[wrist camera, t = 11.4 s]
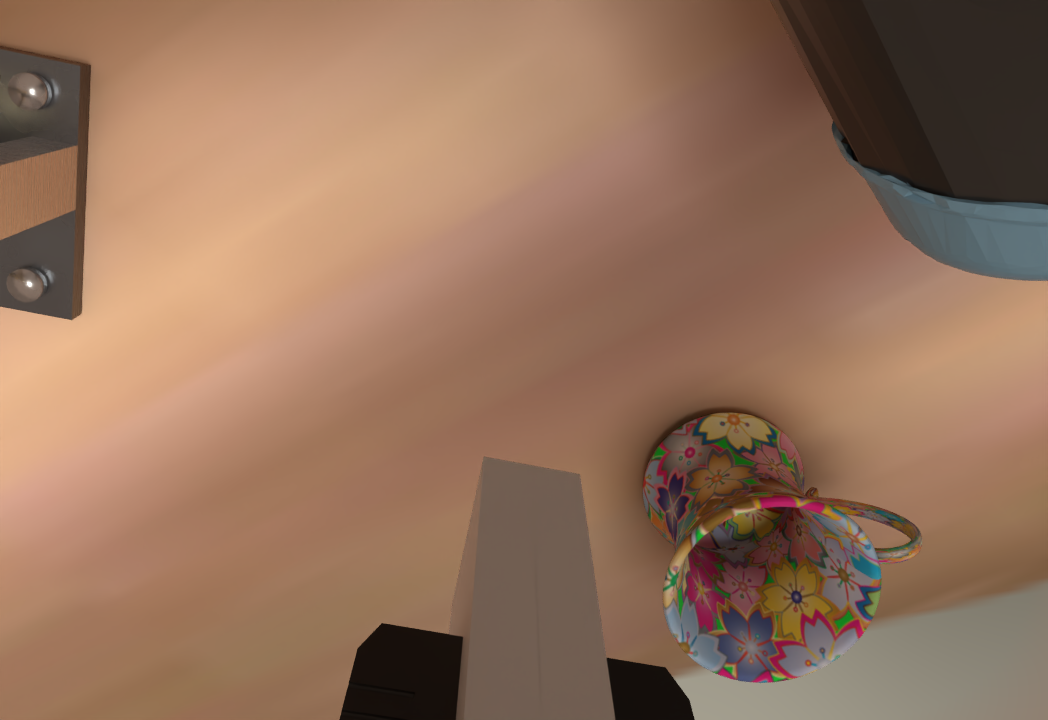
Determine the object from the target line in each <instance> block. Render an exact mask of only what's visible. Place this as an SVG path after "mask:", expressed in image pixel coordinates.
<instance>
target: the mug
mask: <svg viewBox="0 0 1048 720" xmlns="http://www.w3.org/2000/svg"><path fill="white" fill-rule="evenodd" d="M803 490H804V471H803V465H802V461H801V458H800V456H799V453H798V451H797V449H796V447H795V446H794V444H793V443H792V441H791V440H790V439H789V438H788V437H787V436H786V435H785V434H784V433H783V432H782V431H781V430H780V429H778V428H777V427H776V426H774V425H772V424H771V423H769V422H767V421H765V420H763V419H761V418H758V417H755V416H752V415H748V414H742V413H731V412H730V413H716V414H711V415H706V416H703V417H700V418H697V419H694V420H692V421H690V422H688V423H686V424H684V425H682V426H681V427H679V428H678V429H676V430H675V431H674V432H672V433H671V434H670V435H669V436H668V437H667V438H665V439H664V441H663V442H662V443H661V444H660V445H659V446H658V448H657V449H656V450H655V452H654V454H653V455H652V457H651V459H650V461H649V463H648V466H647V469H646V472H645V476H644V482H643V500H644V505H645V508H646V511H647V514H648V516H649V518H650V520H651V522H652V524H653V525H654V527H655V528H656V529H657V531H658V532H659V533H660V534H661V535H662V536H663V537H664V538H665V539H666V540H668V541H669V542H670V543H672V544H673V545H675V554H674V556H673V558H672V560H671V562H670V565H669V567H668V570H667V573H666V577H665V581H664V587H663V609H664V613H665V618H666V621H667V624H668V627H669V629H670V631H671V634H672V636H673V637H674V639H675V640H676V642H677V643H678V645H679V646H680V647H681V648H682V650H683V651H684V652H685V653H686V654H687V655H688V656H689V657H690V658H692V659H693V660H694V661H695V662H697V663H698V664H700V665H701V666H703V667H704V668H706V669H708V670H710V671H712V672H714V673H716V674H718V675H721V676H724V677H727V678H730V679H734V680H739V681H746V682H759V683H763V682H764V683H765V682H777V681H784V680H790V679H793V678H797V677H801V676H804V675H807V674H810V673H812V672H814V671H817V670H819V669H821V668H822V667H825V666H826V665H828V664H830V663H831V662H833V661H835V660H836V659H838V658H839V657H840V656H841V655H843V654H844V653H845V652H846V651H848V650H849V649H850V648H851V647H852V646H853V645H854V644H855V643H856V642H857V640H858V639H859V638H860V637H861V636H862V634H863V633H864V632H865V630H866V629H867V627H868V625H869V624H870V622H871V620H872V618H873V616H874V614H875V611H876V609H877V606H878V602H879V598H880V592H881V569H880V564H892V563H898V562H903V561H906V560H908V559H910V558H912V557H914V556H915V555H917V554H918V552H919V551H920V549H921V547H922V536H921V533H920V531H919V529H918V528H917V527H916V526H915V525H914V524H913V523H912V522H910V521H909V520H907V519H905V518H904V517H902V516H900V515H897V514H895V513H893V512H890V511H888V510H885V509H882V508H879V507H875V506H872V505H868V504H864V503H859V502H854V501H849V500H841V499H832V498H820V497H818V490H817V489H816V488H814V487H812V488H810V489H809V490H808V491H807V493H806V495H804V493H803ZM845 514H848V515H853V516H858V517H863V518H867V519H870V520H874V521H877V522H880V523H883V524H885V525H888V526H890V527H893V528H895V529H897V530H899V531H901V532H902V533H904V534H906V535H907V536H908V537H909V538H910V539H911V541H910V542H908V543H906V544H904V545H902V546H899V547H894V548H883V549H881V548H874V547H873V545H872V543H871V541H870V540H869V538H868V537H867V535H866V534H865V533H864V531H863V530H862V529H861V528H860V527H859V526H858V525H857V524H856V523H855V522H854V521H853V520H852V519H851V518H849V517H848V516H847V515H845Z"/></svg>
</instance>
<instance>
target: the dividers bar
mask: <svg viewBox="0 0 1048 720" xmlns="http://www.w3.org/2000/svg"><path fill="white" fill-rule="evenodd" d="M77 152H78V145H74V144H69V143H64V142H59V141H54V140H49V139H44V138H39V137H35V136H31V137H26V138H22V139H17V140H13V141H8V142H3V143H0V240H2V239H4V238H7V237H9V236H12V235H14V234H17V233H19V232H22V231H24V230H27V229H29V228H32V227H34V226H37V225H39V224H41V223H44V222H46V221H49V220H51V219H54V218H56V217H59V216H61V215H64V214H66V213H69V212H71V211H74V210H76V181H77Z"/></svg>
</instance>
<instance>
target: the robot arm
mask: <svg viewBox="0 0 1048 720" xmlns="http://www.w3.org/2000/svg"><path fill="white" fill-rule="evenodd" d="M770 1H771V3H772V5H773V7H774V9H775V11H776V13H777V15H778V17H779V18H780V20H781V22H782V24H783V26H784V28H785V30H786V32H787V34H788V35H789V37H790V39H791V41H792V43H793V45H794V47H795V49H796V51H797V53H798V54H799V56H800V58H801V60H802V62H803V64H804V66H805V68H806V70H807V71H808V73H809V75H810V77H811V79H812V81H813V83H814V85H815V87H816V89H817V90H818V92H819V94H820V96H821V98H822V100H823V102H824V104H825V106H826V107H827V109H828V111H829V113H830V115H831V117H832V119H833V124H832V132H833V136H834V138H835V141H836V143H837V145H838V147H839V149H840V151H841V153H842V155H843V156H844V158H845V159H846V160H847V161H848V163H849V164H850V165H852V166H853V167H854V168H855V169H856V170H857V171H858V173H859V174H860V175H861V176H863V177H864V178H865V179H866V181H867V183H868V184H869V186H870V188H871V189H872V191H873V193H874V195H875V196H876V198H877V200H878V201H879V203H880V205H881V206H882V208H883V210H884V212H885V213H886V215H887V217H888V218H889V220H890V222H891V223H892V225H893V226H894V228H895V229H896V230H897V231H898V232H899V233H900V234H901V235H902V236H903V237H904V239H906V240H908V241H910V242H911V243H912V244H913V245H914V246H916V247H917V248H918V249H919V250H921V251H922V252H923V253H924V254H925V255H927V256H930V257H932V258H933V259H935V260H936V261H938V262H940V263H943V264H945V265H948V266H951V267H954V268H957V269H960V270H963V271H966V272H970V273H974V274H978V275H983V276H989V277H995V278H1003V279H1013V280H1028V281H1048V0H770ZM339 720H694V716H693V712H692V708H691V705H690V701H689V699H688V698H687V696H686V695H685V693H684V692H683V691H682V689H681V688H680V687H679V685H678V684H677V682H676V681H675V680H674V678H673V677H672V676H671V674H670V673H669V672H668V670H667V669H666V668H665V667H659V666H653V665H647V664H641V663H635V662H629V661H623V660H617V659H611V658H606V651H605V644H604V638H603V631H602V624H601V617H600V610H599V603H598V596H597V589H596V582H595V575H594V568H593V561H592V554H591V548H590V541H589V534H588V527H587V520H586V513H585V506H584V499H583V492H582V485H581V478H580V474H576V473H571V472H565V471H560V470H554V469H549V468H543V467H538V466H532V465H527V464H521V463H516V462H510V461H505V460H500V459H494V458H489V457H484V458H483V462H482V467H481V472H480V476H479V481H478V486H477V490H476V495H475V500H474V504H473V509H472V514H471V518H470V523H469V528H468V532H467V537H466V542H465V546H464V551H463V556H462V560H461V565H460V570H459V574H458V579H457V584H456V589H455V593H454V598H453V603H452V609H451V618H450V627H449V634H444V633H438V632H432V631H426V630H420V629H414V628H408V627H402V626H396V625H390V624H384V623H382V624H381V625H380V626H379V627H378V628H377V629H376V630H375V631H374V632H373V633H372V634H371V635H370V636H369V637H368V638H367V639H366V640H365V641H364V642H363V643H362V645H361V646H360V647H359V648H358V649H357V653H356V657H355V661H354V665H353V669H352V673H351V676H350V680H349V685H348V688H347V692H346V696H345V700H344V704H343V708H342V712H341V716H340V719H339Z"/></svg>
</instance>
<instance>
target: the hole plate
mask: <svg viewBox="0 0 1048 720" xmlns="http://www.w3.org/2000/svg"><path fill="white" fill-rule="evenodd" d="M90 67H91V65H88V64H83V63H78V62H73V61H69V60H64V59H59V58H54V57H50V56H45V55H40V54H35V53H31V52H26V51H21V50H16V49H12V48H7V47H2V46H0V143H3V142H8V141H13V140H17V139H22V138H26V137H31V136H35V137H39V138H44V139H49V140H54V141H59V142H64V143H69V144H74V145H78V152H77V181H76V210H74V211H71V212H69V213H66V214H64V215H61V216H59V217H56V218H54V219H51V220H49V221H46V222H44V223H41V224H39V225H37V226H34V227H32V228H29V229H27V230H24V231H22V232H19V233H17V234H14V235H12V236H9V237H7V238H4V239H2V240H0V306H1V307H6V308H11V309H16V310H22V311H27V312H32V313H38V314H43V315H48V316H54V317H59V318H64V319H70V320H73V319H74V318H76V317H77V316H79V315H80V314H81V308H82V281H83V254H84V228H85V201H86V174H87V147H88V121H89V94H90Z"/></svg>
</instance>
